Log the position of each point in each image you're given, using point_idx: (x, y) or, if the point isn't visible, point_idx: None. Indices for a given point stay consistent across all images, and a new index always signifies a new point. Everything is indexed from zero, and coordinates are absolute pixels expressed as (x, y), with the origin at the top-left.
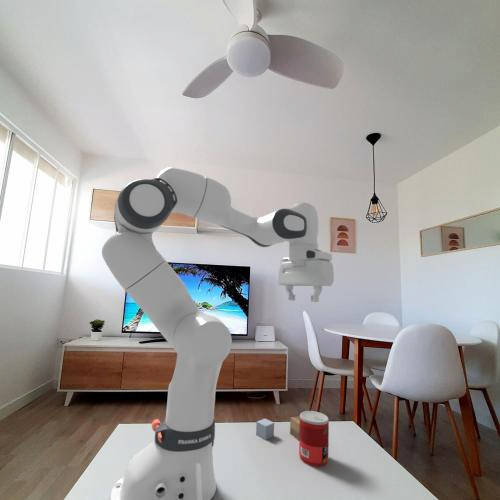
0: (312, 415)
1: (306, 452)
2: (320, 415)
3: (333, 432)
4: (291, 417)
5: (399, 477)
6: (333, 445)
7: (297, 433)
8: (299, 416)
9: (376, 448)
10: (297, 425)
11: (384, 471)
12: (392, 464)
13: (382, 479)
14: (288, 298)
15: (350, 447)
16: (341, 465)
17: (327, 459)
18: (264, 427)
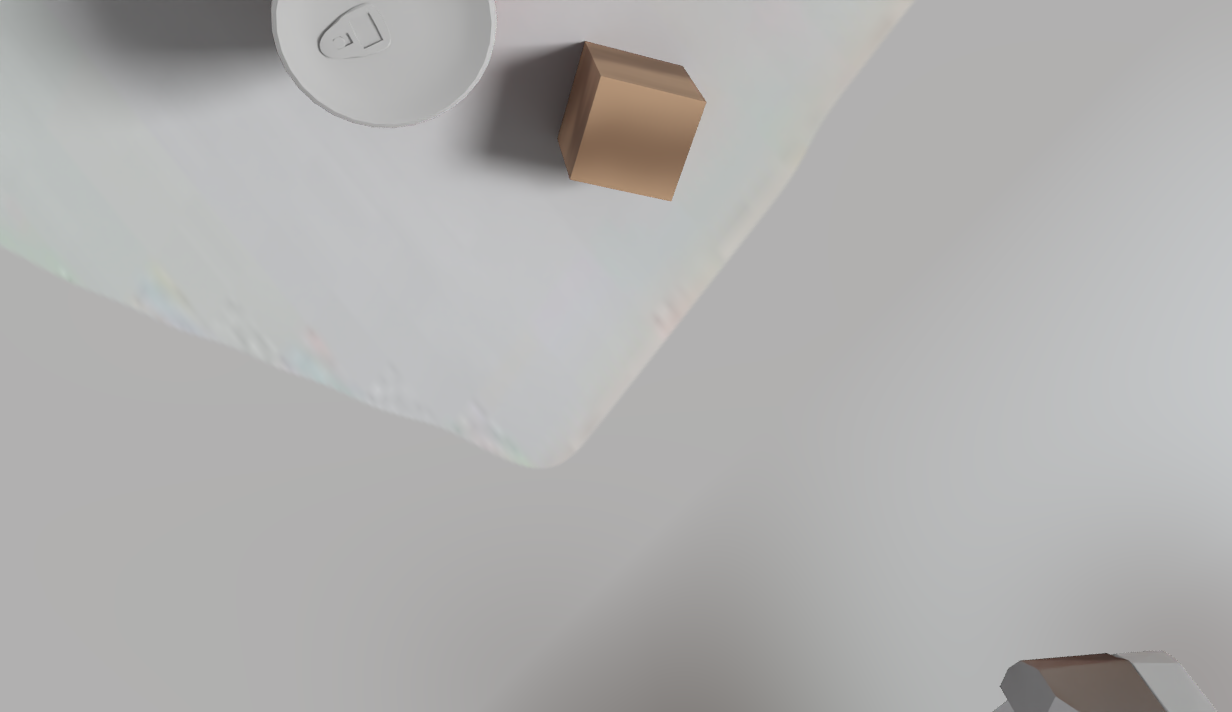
0: (420, 44)
1: None
2: (387, 98)
3: (529, 304)
4: (700, 107)
5: (24, 213)
6: (428, 183)
7: (607, 57)
8: (676, 167)
9: (279, 356)
10: (617, 74)
11: (98, 196)
12: (127, 290)
13: (48, 120)
14: (1170, 677)
15: (360, 248)
16: (252, 41)
17: None
18: None
